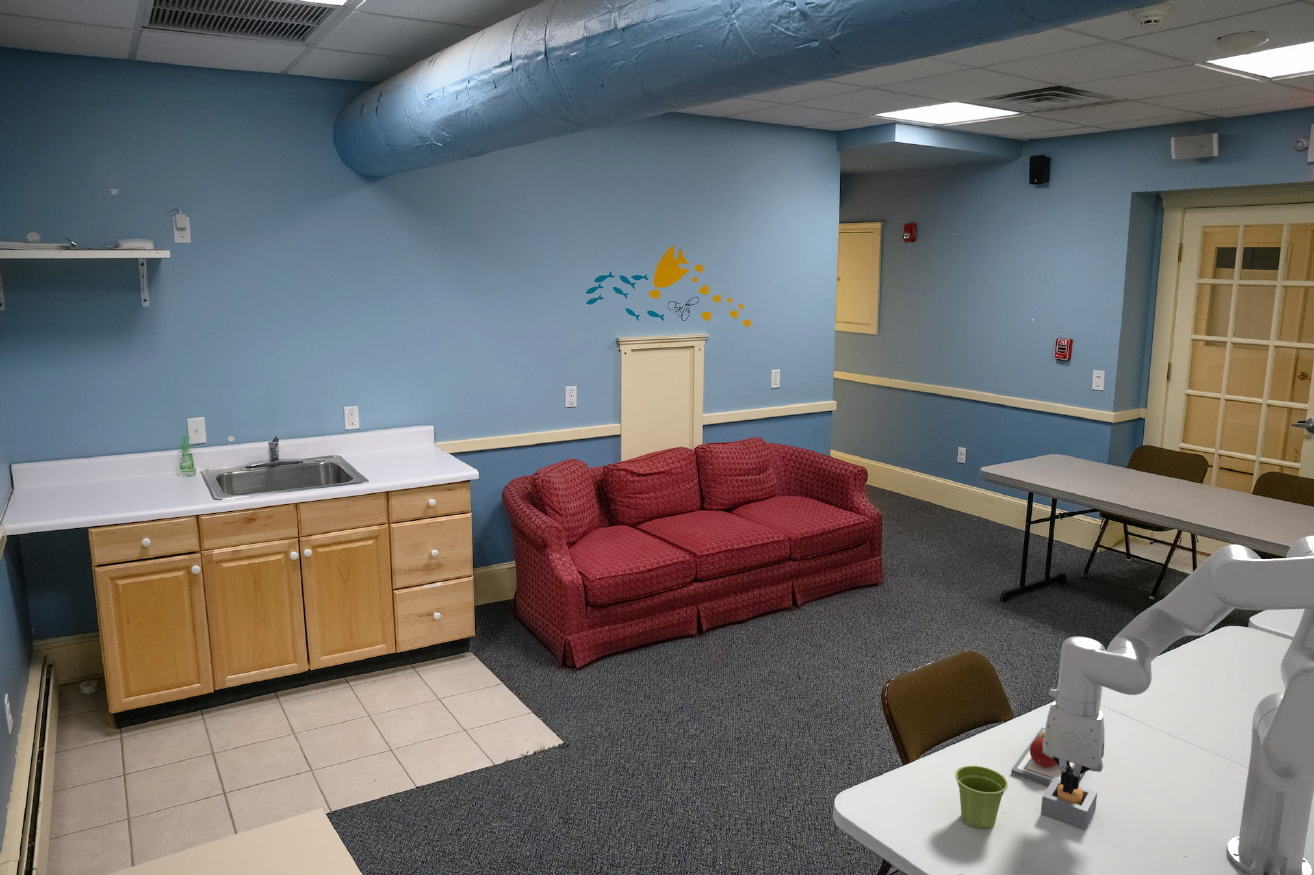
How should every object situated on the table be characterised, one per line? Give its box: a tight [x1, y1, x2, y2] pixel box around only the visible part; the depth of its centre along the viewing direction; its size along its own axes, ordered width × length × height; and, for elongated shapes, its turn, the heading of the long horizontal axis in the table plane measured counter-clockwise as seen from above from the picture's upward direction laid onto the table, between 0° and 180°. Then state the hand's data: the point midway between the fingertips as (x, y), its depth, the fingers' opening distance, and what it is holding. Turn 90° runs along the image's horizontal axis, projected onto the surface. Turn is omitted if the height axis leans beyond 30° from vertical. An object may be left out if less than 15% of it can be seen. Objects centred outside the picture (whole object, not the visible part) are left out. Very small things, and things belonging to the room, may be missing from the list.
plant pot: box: [955, 765, 1009, 829], centre depth 172 cm, size 9×9×9 cm
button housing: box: [1040, 778, 1098, 831], centre depth 175 cm, size 8×8×4 cm
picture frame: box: [1010, 727, 1086, 787], centre depth 193 cm, size 22×12×1 cm, turn 142°
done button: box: [1057, 784, 1083, 805], centre depth 174 cm, size 4×4×3 cm
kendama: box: [1030, 731, 1057, 768], centre depth 193 cm, size 8×6×18 cm
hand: (1069, 789), depth 174 cm, fingers closed
